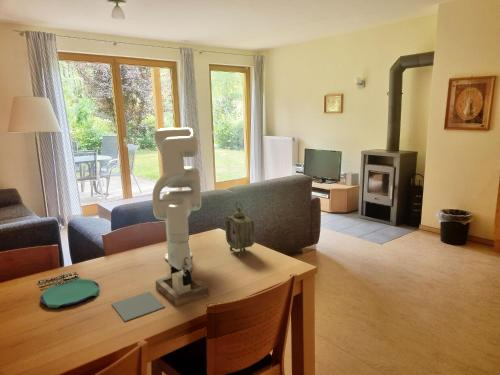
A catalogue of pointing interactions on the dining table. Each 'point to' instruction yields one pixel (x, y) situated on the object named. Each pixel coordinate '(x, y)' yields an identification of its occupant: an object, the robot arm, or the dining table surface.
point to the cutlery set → (68, 291)
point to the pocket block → (183, 298)
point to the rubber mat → (137, 306)
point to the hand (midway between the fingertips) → (181, 280)
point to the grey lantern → (239, 231)
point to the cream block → (179, 283)
